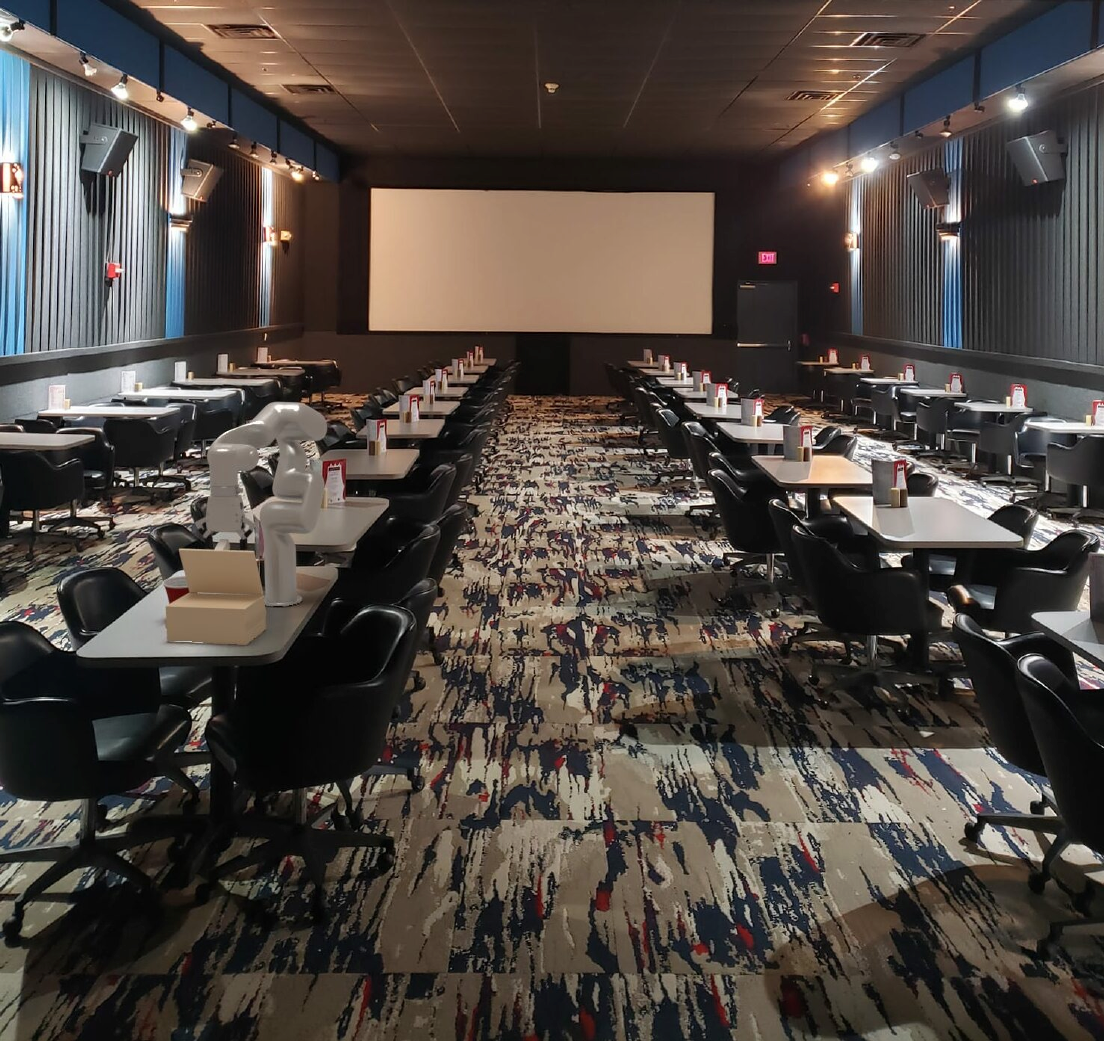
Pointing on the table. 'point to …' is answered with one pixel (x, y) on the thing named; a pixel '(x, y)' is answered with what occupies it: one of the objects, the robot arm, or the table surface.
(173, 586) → the plastic cup
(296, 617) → the table surface
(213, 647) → the table surface
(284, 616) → the table surface
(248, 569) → the flap
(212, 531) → the robot arm
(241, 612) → the carton
